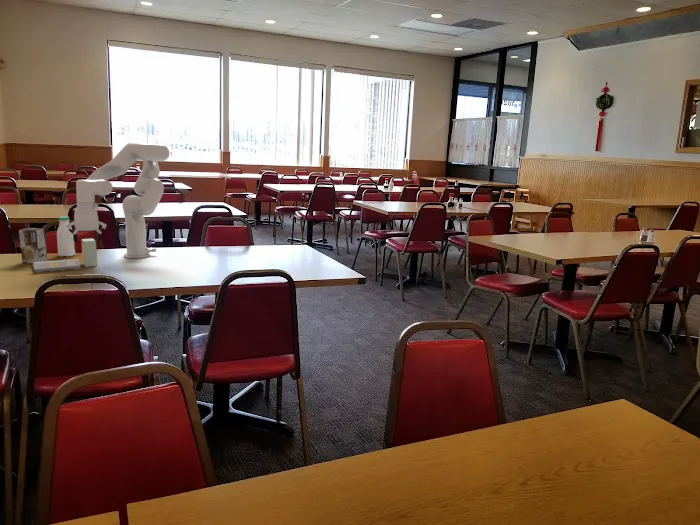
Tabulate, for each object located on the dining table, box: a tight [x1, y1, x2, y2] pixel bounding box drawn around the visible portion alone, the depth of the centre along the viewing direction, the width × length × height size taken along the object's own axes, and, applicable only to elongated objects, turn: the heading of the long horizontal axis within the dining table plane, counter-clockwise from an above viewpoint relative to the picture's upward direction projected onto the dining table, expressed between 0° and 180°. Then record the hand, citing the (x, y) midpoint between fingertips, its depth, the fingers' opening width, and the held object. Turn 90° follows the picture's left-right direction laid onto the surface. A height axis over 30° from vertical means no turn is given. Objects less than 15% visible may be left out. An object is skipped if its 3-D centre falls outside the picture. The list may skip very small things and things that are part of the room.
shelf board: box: [32, 258, 81, 273], centre depth 251 cm, size 18×15×4 cm
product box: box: [81, 238, 98, 268], centre depth 259 cm, size 5×8×12 cm, turn 33°
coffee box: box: [18, 227, 48, 264], centre depth 261 cm, size 9×6×16 cm
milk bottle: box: [56, 215, 76, 257], centre depth 277 cm, size 8×8×20 cm
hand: (87, 242), depth 257 cm, fingers open, 9 cm apart
